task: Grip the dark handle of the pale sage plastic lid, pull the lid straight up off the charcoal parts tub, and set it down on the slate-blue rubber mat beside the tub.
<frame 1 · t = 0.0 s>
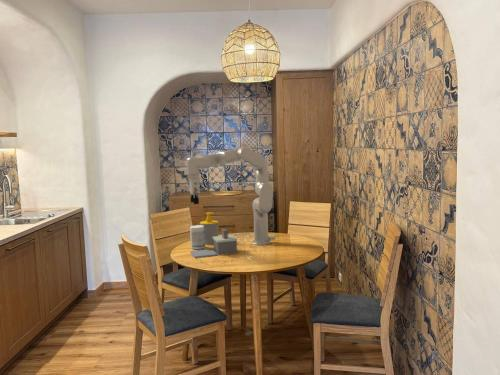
hand: (194, 203, 272), 31 cm above the table, tool pointing down, fingers open, 9 cm apart
soap bottle: (210, 242, 297), on the table
mat: (203, 254, 265), on the table
supplement tub: (198, 248, 282), on the table
parts tub: (225, 251, 269), on the table
lid: (224, 239, 268), point 8 cm above the table, touching parts tub
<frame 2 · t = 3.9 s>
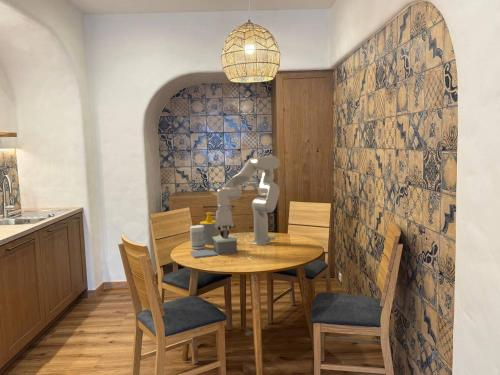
hand: (224, 236, 268), 10 cm above the table, tool pointing down, fingers closed on lid, 2 cm apart
lid: (224, 239, 268), point 8 cm above the table, touching gripper, parts tub
everything else where it was.
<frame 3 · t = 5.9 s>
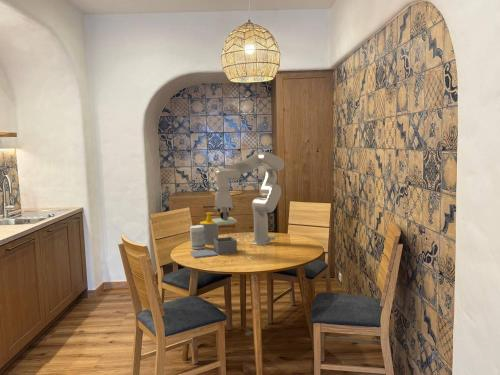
hand: (224, 218, 267), 22 cm above the table, tool pointing down, fingers closed on lid
lid: (224, 221, 267), point 20 cm above the table, touching gripper
everything else where it was.
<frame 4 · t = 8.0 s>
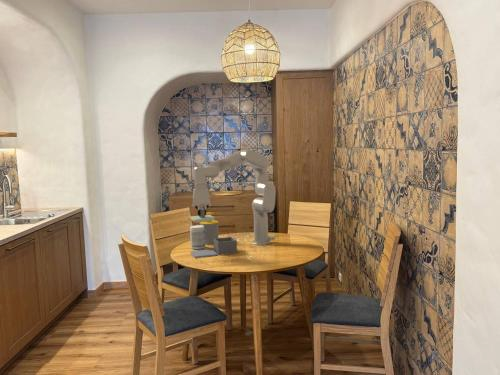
hand: (202, 215, 262), 24 cm above the table, tool pointing down, fingers closed on lid
lid: (202, 219, 263), point 22 cm above the table, touching gripper
everything else where it was.
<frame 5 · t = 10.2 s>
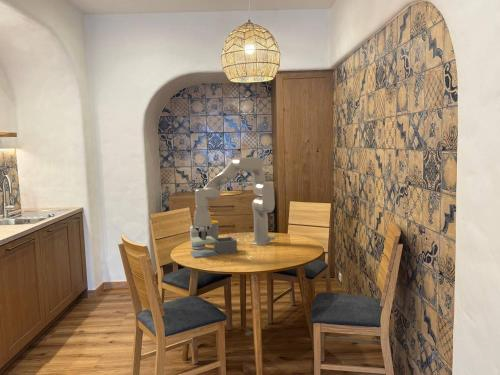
hand: (202, 237, 264), 11 cm above the table, tool pointing down, fingers closed on lid, 2 cm apart
lid: (202, 240, 264), point 9 cm above the table, touching gripper
everything else where it was.
when the fingers open (5 cm above the table, at t = 12.0 s): lid drops 1 cm, resting on mat.
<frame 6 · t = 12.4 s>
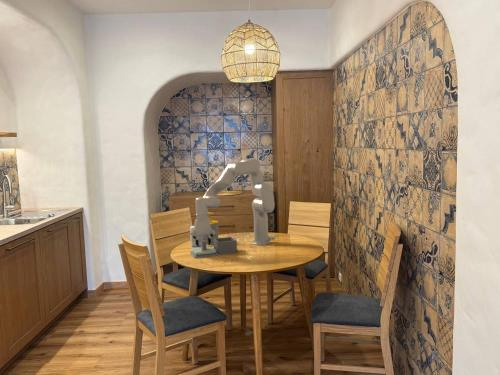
hand: (203, 244, 264), 6 cm above the table, tool pointing down, fingers open, 6 cm apart
lid: (203, 251, 265), point 2 cm above the table, touching mat
everything else where it was.
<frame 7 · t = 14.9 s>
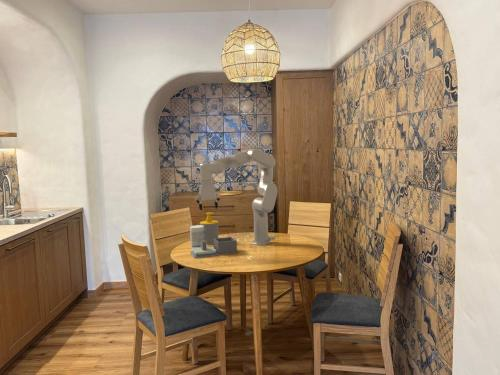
hand: (208, 209, 268), 28 cm above the table, tool pointing down, fingers open, 9 cm apart
nothing on the table moved.
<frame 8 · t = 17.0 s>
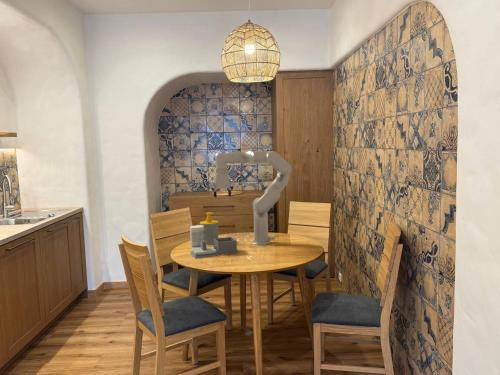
hand: (222, 196, 283), 33 cm above the table, tool pointing down, fingers open, 9 cm apart
nothing on the table moved.
at the end: lid 0.1 cm off-centre on the mat, point 2.0 cm above the mat's base; lid tilted 0°; the gripper is holding nothing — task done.
